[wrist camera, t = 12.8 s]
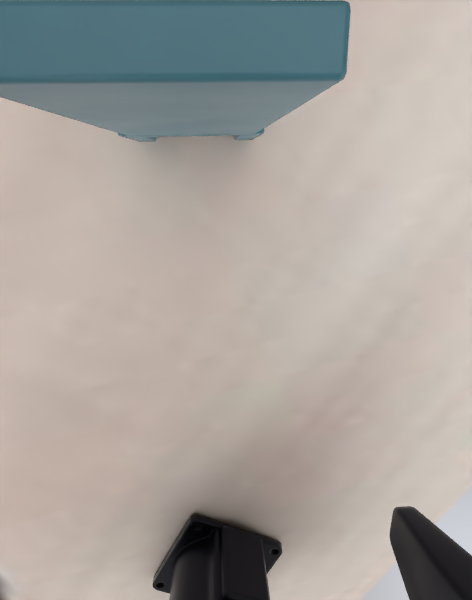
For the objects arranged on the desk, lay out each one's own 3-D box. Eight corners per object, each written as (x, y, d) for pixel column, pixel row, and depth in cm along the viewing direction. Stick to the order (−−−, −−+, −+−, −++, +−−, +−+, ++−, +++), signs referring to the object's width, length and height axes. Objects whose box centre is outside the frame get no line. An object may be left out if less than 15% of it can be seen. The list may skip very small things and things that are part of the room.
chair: (252, 139, 17) (369, 80, 5) (138, 141, 17) (-78, 83, 4) (252, 4, 16) (435, -695, 3) (125, 4, 15) (-292, -762, 3)
